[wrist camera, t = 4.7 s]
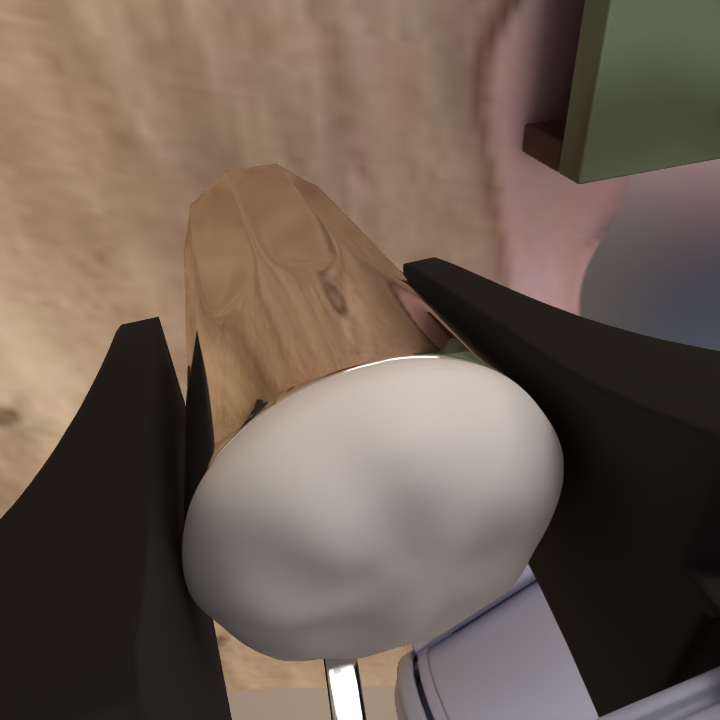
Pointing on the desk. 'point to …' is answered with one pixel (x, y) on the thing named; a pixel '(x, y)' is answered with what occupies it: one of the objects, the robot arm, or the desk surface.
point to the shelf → (637, 91)
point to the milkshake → (342, 440)
